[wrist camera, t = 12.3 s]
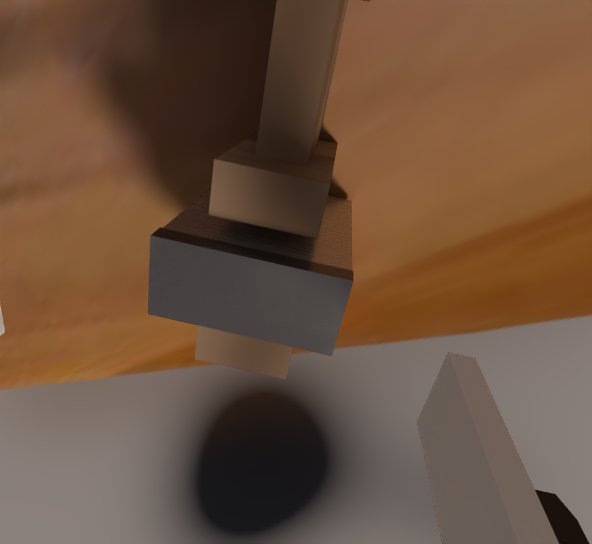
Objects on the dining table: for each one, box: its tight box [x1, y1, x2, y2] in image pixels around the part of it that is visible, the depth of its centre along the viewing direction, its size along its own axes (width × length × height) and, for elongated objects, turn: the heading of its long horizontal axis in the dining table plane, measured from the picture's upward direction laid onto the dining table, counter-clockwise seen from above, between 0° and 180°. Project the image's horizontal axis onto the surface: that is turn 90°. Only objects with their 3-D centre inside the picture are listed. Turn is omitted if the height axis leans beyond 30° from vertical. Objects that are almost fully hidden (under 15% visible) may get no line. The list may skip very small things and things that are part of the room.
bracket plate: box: [148, 188, 353, 356], centre depth 19 cm, size 7×3×10 cm, turn 79°
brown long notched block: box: [195, 0, 370, 379], centre depth 16 cm, size 4×24×9 cm, turn 169°
